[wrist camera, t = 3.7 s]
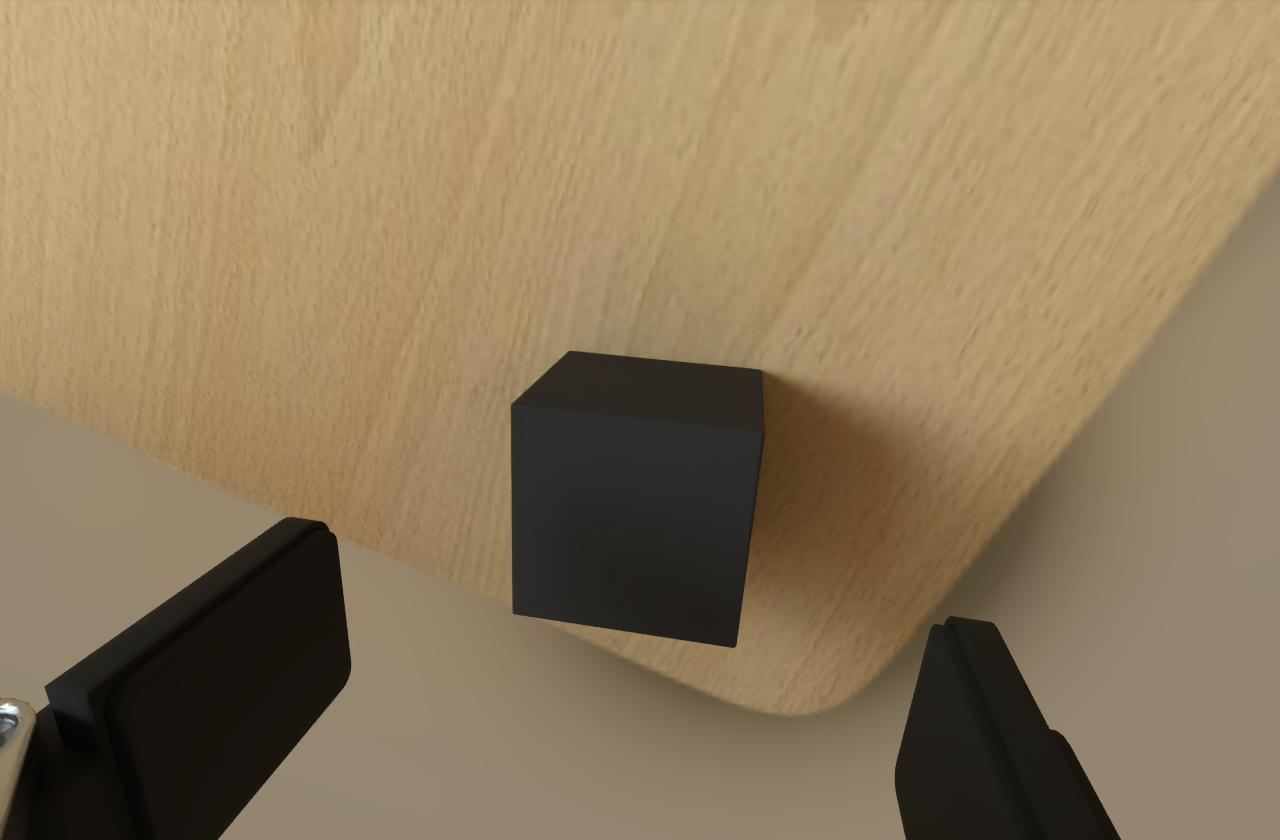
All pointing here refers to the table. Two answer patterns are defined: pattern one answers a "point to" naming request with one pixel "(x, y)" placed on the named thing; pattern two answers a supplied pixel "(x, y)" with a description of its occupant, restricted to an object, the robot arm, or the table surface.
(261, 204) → the table surface
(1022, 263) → the table surface
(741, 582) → the black cube
